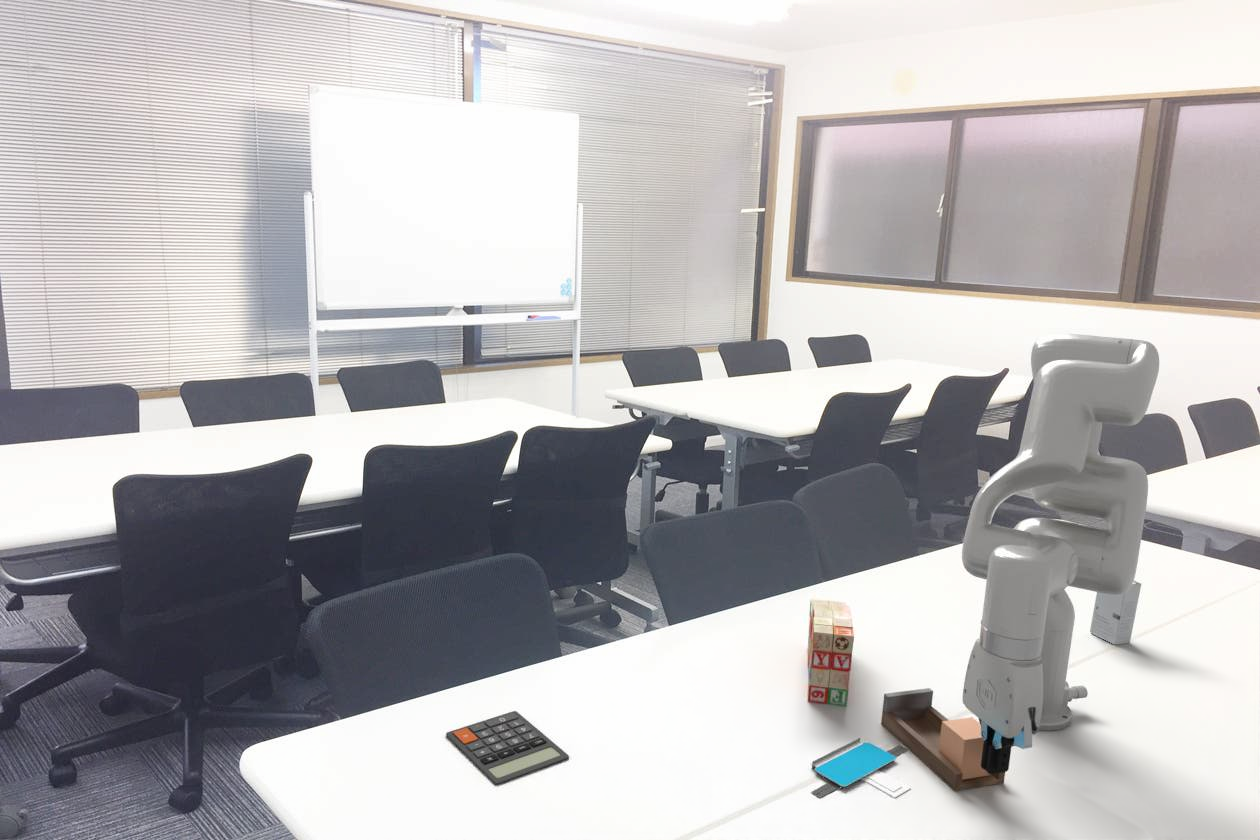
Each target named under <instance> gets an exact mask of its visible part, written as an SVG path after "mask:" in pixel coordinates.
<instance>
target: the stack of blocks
mask: <svg viewBox="0 0 1260 840" xmlns="http://www.w3.org/2000/svg"><path fill="white" fill-rule="evenodd" d="M809 602H810V603H809V623H808V639H807V641H808V642H807V674H808V675H807V677H808V678H807V679H808V680H807V702H808V703H815V704H823V705H833V706H839V707H847V705H848V696H849V689H850V688H849V686H850V685H849V684H850V682H849V681H850V676H851V675H850V672H851V669H852V661H853V650H854V649H853V648H854V641H855V634H854V626H853V618H852V613H851V609H850V605H846V602H845V601H838V600H837V601H835V600H825V599H816V598H814V599H813V598H810V601H809Z"/></svg>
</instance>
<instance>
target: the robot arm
mask: <svg viewBox="0 0 1260 840" xmlns="http://www.w3.org/2000/svg"><path fill="white" fill-rule="evenodd" d="M1030 354H1031V355H1030V366H1031V374H1032V380H1033V387H1032V391H1031V394H1030V395H1031V397H1030V400H1029V404H1028V408H1027V409H1028V410H1027V414H1026V418H1025V424H1024V428H1023V432H1022V436H1021V441H1020V447H1019V451H1018V454H1017V455H1016V457H1015V458H1014V459H1012V460H1011V461H1010V462H1008V463H1007V464H1006V465H1004V466H1003V467H1001V468H1000V469H998V471H996V472H995V473H994V474H992V475H991V476H990V477H989V478H988V479H987V480H986V481H985V483H984V484H983V485H982V486H981V488H980V489H979V491H978V492H977V494H976V496H975V497H974V500H973V502H972V506H971V508H970V512H969V517H968V521H967V525H966V529H965V533H964V537H963V541H962V542H963V543H962V548H961V549H962V550H961V560H962V566H963V567H964V569H965V570H966V572H967V573H969V574H970V575H972V576H973V577H975V578H980V579H983V580H986V584H985V590H984V591H985V592H984V599H983V600H984V601H983V607H982V608H983V609H982V617H981V621H980V632H979V638H977V639H975V642H974V644H973V646H972V649H971V652H970V656H969V659H968V663H967V665H966V666H967V668H966V672H965V677H964V682H963V689H962V704H963V705H964V707H965V709H967V710H968V711H969V712H970V713H972V714H973V715H974V716H976V717H977V719H978V722H979V723H980V724H981V736H982V738H983V739H984V740H985V741H984V743H983V751H982V759H981V767H982V768H983V769H984V770H986V772H987V773H989V774H995V773H1001V772H1005V773H1007V772H1008V771H1009V767H1010V762H1011V761H1010V760H1011V754H1012V748H1014V747H1017V748H1019V749H1021V750H1024V749H1031V748H1032V747H1033V735H1036V734H1037V733H1038V731H1057V730H1063V729H1064V728H1066V727H1069V725H1070V724H1072V723H1071V722H1072V720H1073V712H1072V710H1071V708H1070V706H1069V705H1068V704H1069V702H1071V701H1072V700H1077V699H1078V700H1079V699H1085V698H1087V697H1088V695H1089V693H1088V690H1087V687H1086V686H1084V685H1075V686H1071V687H1069V686H1070V685H1069V683H1068V682H1067V674H1068V666H1069V661H1070V653H1071V645H1072V639H1073V631H1074V626H1075V619H1076V615H1075V612H1076V611H1075V607H1074V604H1073V602H1072V600H1071V598H1070V597H1069V595H1068V593H1067V591H1066V588H1068V587H1072V588H1076V589H1081V590H1086V591H1091V592H1096V593H1097V592H1100V593H1105V594H1111V595H1120V594H1124V593H1126V592H1127V591H1128V590H1129V589H1130V588H1131V586H1132V584H1133V581H1134V580H1135V577H1136V573H1137V568H1138V563H1139V555H1140V549H1141V543H1142V536H1143V530H1144V524H1145V518H1146V510H1147V503H1148V494H1149V479H1148V474H1147V471H1146V470H1145V467H1143V466H1142V465H1141V464H1139V463H1138V462H1136V461H1134V460H1130V459H1125V458H1121V457H1120V458H1119V457H1112V456H1107V455H1100V453H1099V445H1100V441H1101V436H1102V430H1103V429H1102V428H1103V424H1109V425H1116V426H1122V427H1123V426H1126V427H1129V426H1130V427H1131V426H1135V425H1137V424H1139V423H1140V422H1141V421H1142V419H1143V418H1144V416H1145V415H1146V413H1147V410H1148V408H1149V405H1150V402H1151V399H1152V395H1153V391H1154V388H1155V385H1156V383H1157V379H1158V376H1159V372H1160V354H1159V352H1158V349H1157V348H1156V346H1155V345H1154V344H1152V343H1151V342H1149V341H1147V340H1142V339H1133V338H1124V337H1123V338H1122V337H1112V336H1111V337H1109V336H1100V335H1099V336H1098V335H1092V334H1091V335H1090V334H1078V333H1077V334H1076V333H1053V334H1047V335H1043V336H1041V337H1039V338H1038V339H1036V341H1034V344H1033V346H1032V348H1031V353H1030ZM1026 490H1030V491H1031V497H1032V499H1033V501H1034V502H1035V504H1037V505H1038V506H1040V507H1042V508H1045V509H1047V510H1051V511H1054V512H1055V511H1056V512H1060V513H1066V514H1071V515H1072V514H1073V515H1078V516H1082V517H1083V516H1084V517H1089V518H1094V519H1100V520H1102V521H1105V522H1106V523H1107V524H1108V527H1109V528H1102V527H1098V526H1092V525H1091V526H1090V525H1086V524H1079V523H1076V522H1070V521H1066V520H1059V519H1054V518H1053V519H1052V518H1046V517H1029V518H1026V519H1025V518H1024V519H1023V520H1021V521H1019V522H1017V524H1015V526H1014V528H1012V527H1006V526H1000V525H994V524H992V520H993V517H994V515H995V512H996V511H997V509H998V507H999V506H1000V505H1001V504H1002V503H1003V502H1004V501H1005V500H1007V499H1008V498H1010V497H1011V496H1013V495H1015V494H1018V493H1021V492H1023V491H1026Z"/></svg>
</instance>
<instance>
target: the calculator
mask: <svg viewBox="0 0 1260 840" xmlns="http://www.w3.org/2000/svg"><path fill="white" fill-rule="evenodd" d="M445 736H446V738H447V739H448V740H449V741H450V742H451V743H452V744H453V745H454V746H455V745H456V746H455V747H456V748H457V749H458V750H459V751H460V752H461V753H462V754H463V755H464V756H466V758H468V760H469V761H470V762H472V764H474V766H476V767H477V769H478V770H479V771H480V772H482V773H483V774H484V775H485V776H486V777H487V778H488V779H489V781H491V783H492V784H494V785H495V786H499V785H502V784H504V783H508V782H510V781H513V780H515V779H518V778H521V777H524V776H526V775H529V774H532V773H535V772H537V771H540V770H543V769H546V768H548V767H551V766H553V765H558V764H560V763H562V762H565V761H568V760H569V759H570V755H569V754H568V753H567V752H565V751H564V750H563V749H562V748H560V747H559V745H557V744H556V743H554V741H552V740H551V738H549V737H548V736H546V734H544V733H543V732H542V731H540V730H539V729H538V728H537V727H536V726H535V725H533V724H532V723H531V721H528V720H527V719H526V718H525V717H524V716H522V715H521V713H519V712H518V711H517V710H514V711H509V712H507V713H503V714H500V715H497V716H494V717H491V718H488V719H484V720H482V721H479V722H475V723H472V724H469V725H465V726H463V727H460V728H457V729H454V730H451V731H448V732H446V734H445Z"/></svg>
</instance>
